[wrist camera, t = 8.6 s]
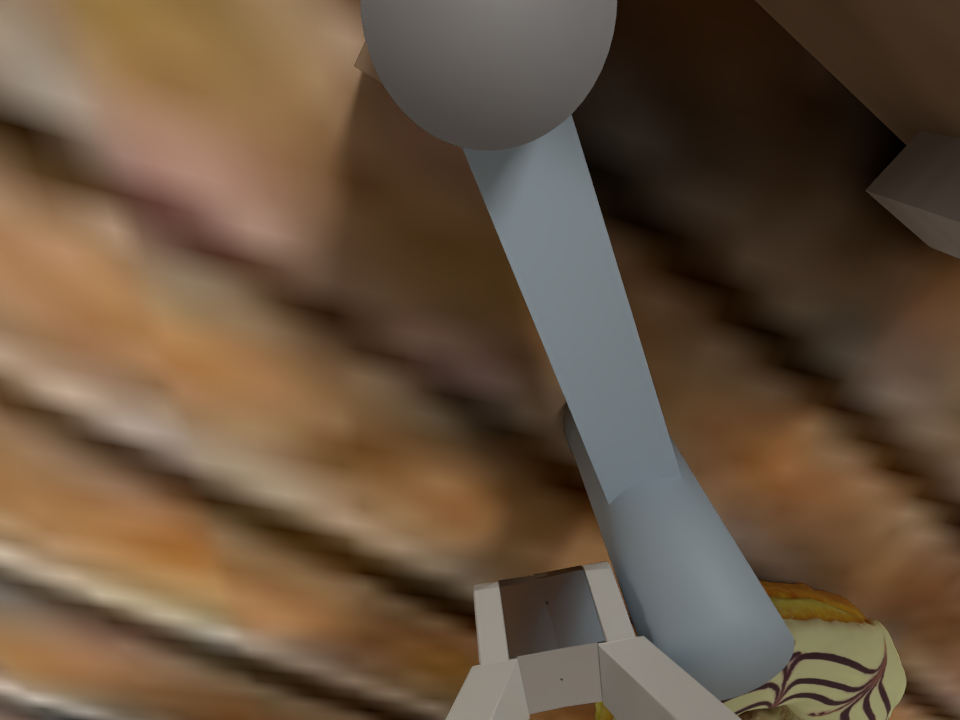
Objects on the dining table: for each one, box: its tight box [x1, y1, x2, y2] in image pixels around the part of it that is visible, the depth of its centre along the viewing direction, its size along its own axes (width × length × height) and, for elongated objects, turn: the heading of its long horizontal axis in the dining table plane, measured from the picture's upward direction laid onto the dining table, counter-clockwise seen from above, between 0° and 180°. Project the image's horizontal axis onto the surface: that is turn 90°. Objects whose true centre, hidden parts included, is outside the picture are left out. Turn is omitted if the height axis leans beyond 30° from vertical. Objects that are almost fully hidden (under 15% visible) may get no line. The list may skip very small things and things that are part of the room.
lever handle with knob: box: [361, 0, 795, 701], centre depth 10 cm, size 12×3×7 cm, turn 23°
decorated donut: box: [594, 580, 906, 720], centre depth 20 cm, size 10×11×4 cm
